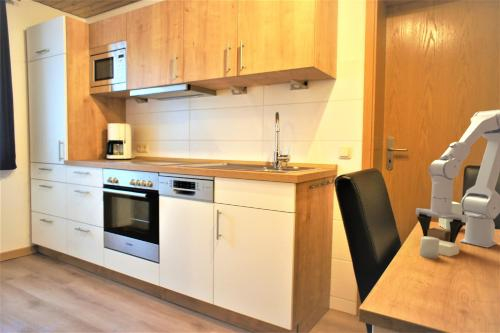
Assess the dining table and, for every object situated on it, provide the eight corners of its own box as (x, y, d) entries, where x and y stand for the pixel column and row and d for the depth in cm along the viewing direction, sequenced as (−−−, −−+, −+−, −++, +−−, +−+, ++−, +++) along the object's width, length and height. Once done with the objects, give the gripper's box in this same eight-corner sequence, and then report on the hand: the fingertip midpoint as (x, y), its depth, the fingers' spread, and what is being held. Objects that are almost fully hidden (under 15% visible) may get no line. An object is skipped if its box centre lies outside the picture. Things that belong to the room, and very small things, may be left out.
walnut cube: (433, 242, 106) (434, 227, 106) (450, 246, 102) (451, 230, 102) (426, 244, 103) (427, 229, 103) (443, 248, 99) (444, 232, 99)
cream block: (437, 249, 100) (437, 239, 99) (458, 254, 95) (459, 244, 95) (427, 251, 96) (428, 241, 96) (449, 257, 91) (450, 247, 91)
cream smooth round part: (424, 252, 94) (425, 235, 94) (441, 257, 90) (442, 239, 90) (416, 255, 91) (418, 237, 91) (434, 259, 88) (435, 241, 87)
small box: (461, 231, 126) (463, 204, 125) (445, 229, 127) (447, 203, 127) (453, 226, 134) (454, 201, 133) (438, 225, 135) (439, 200, 134)
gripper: (412, 195, 105) (409, 237, 106) (462, 202, 94) (459, 248, 95) (422, 194, 110) (419, 234, 110) (471, 200, 98) (468, 245, 99)
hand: (438, 240), depth 103 cm, fingers open, 7 cm apart
